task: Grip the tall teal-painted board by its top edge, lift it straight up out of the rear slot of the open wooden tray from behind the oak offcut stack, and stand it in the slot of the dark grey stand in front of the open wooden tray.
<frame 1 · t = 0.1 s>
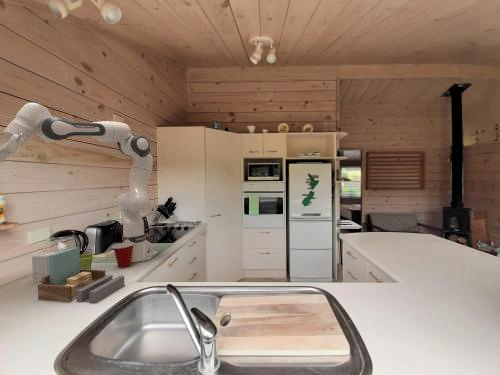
open wooden tray: (74, 294, 105), on the worktop
sheet stand: (102, 296, 103), on the worktop
plant pot: (83, 274, 128), on the worktop
offcut stack: (78, 290, 105), point 1 cm above the worktop, touching open wooden tray
tall sheet: (66, 289, 106), point 1 cm above the worktop, touching open wooden tray
plastic cup: (123, 266, 139), on the worktop
supplement box: (47, 281, 120), on the worktop
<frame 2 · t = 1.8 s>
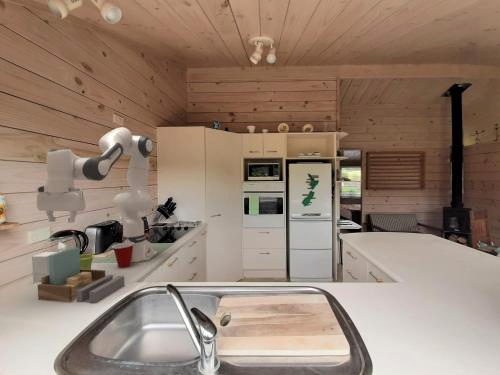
hand: (61, 222, 105), 30 cm above the worktop, tool pointing down, fingers open, 8 cm apart
nothing on the worktop moved.
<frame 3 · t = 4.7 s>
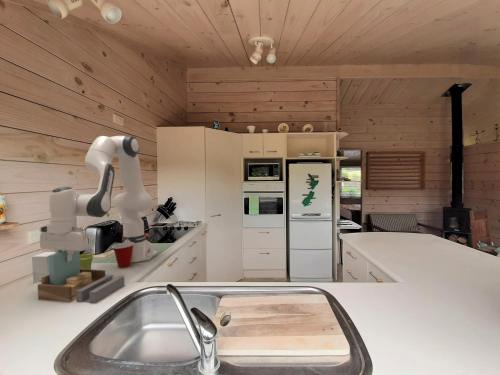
hand: (65, 260, 106), 14 cm above the worktop, tool pointing down, fingers closed on tall sheet, 2 cm apart
tall sheet: (66, 289, 106), point 2 cm above the worktop, touching gripper, open wooden tray
everything else where it was.
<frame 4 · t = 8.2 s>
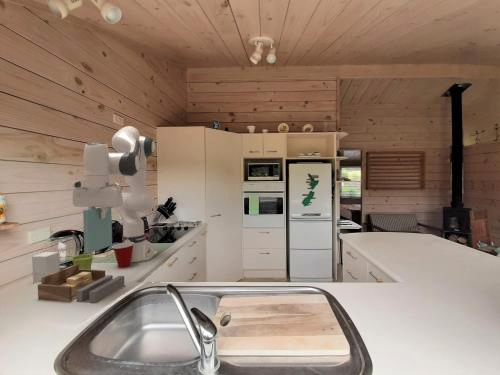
hand: (98, 218, 102), 31 cm above the worktop, tool pointing down, fingers closed on tall sheet
tall sheet: (99, 248, 102), point 19 cm above the worktop, touching gripper
everything else where it was.
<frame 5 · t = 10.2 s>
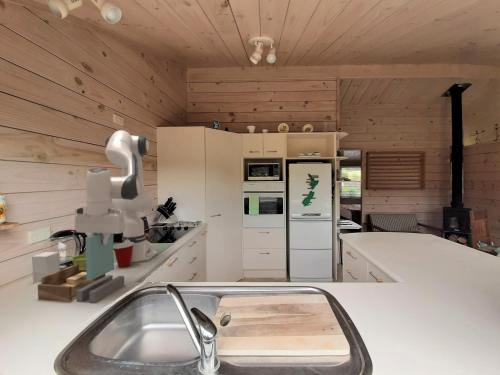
hand: (100, 244, 102), 21 cm above the worktop, tool pointing down, fingers closed on tall sheet
tall sheet: (101, 274, 102), point 9 cm above the worktop, touching gripper
everything else where it was.
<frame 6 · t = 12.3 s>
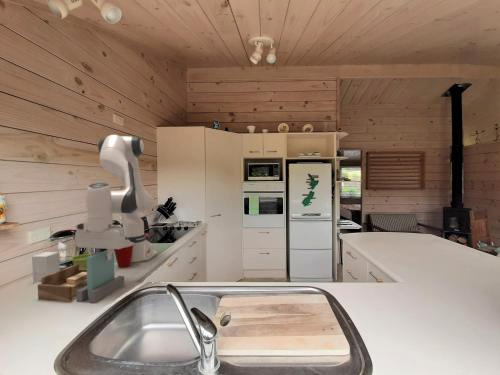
hand: (101, 259, 102), 15 cm above the worktop, tool pointing down, fingers open, 5 cm apart
tall sheet: (102, 292, 103), point 1 cm above the worktop, touching sheet stand
everything else where it was.
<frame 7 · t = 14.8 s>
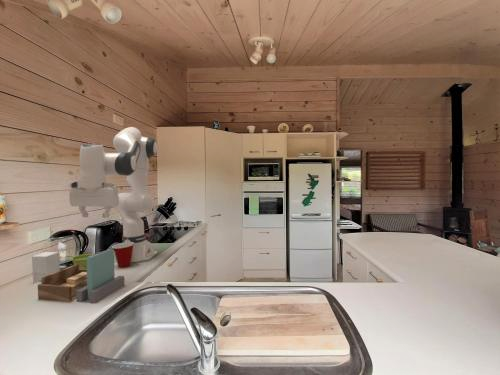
hand: (95, 217, 105), 31 cm above the worktop, tool pointing down, fingers open, 8 cm apart
nothing on the worktop moved.
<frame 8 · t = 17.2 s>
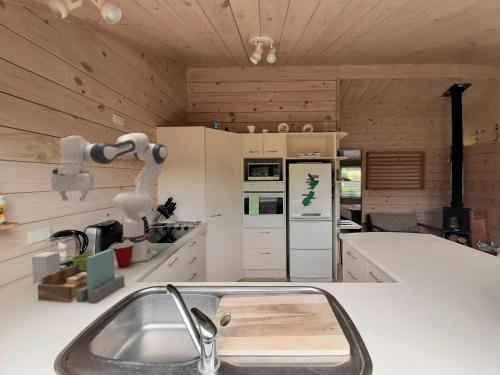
hand: (73, 200, 118), 37 cm above the worktop, tool pointing down, fingers open, 8 cm apart
nothing on the worktop moved.
at the end: tall sheet 0.0 cm off-centre on the sheet stand, point 1.5 cm above the sheet stand's base; tall sheet tilted 0°; the gripper is holding nothing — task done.
